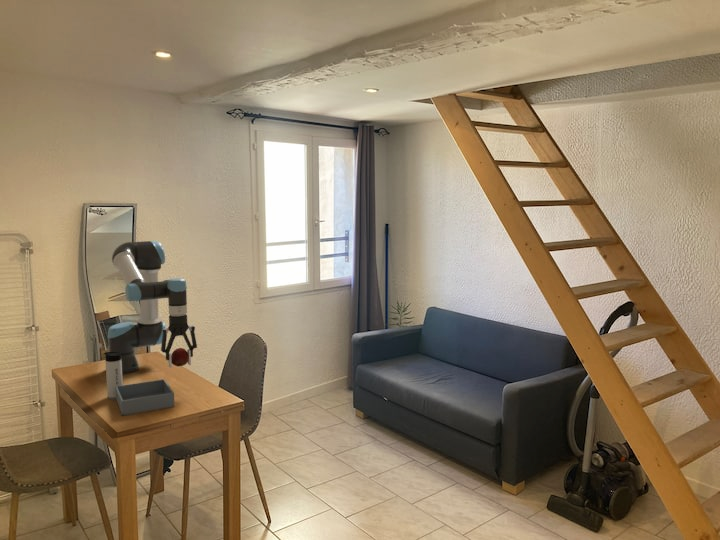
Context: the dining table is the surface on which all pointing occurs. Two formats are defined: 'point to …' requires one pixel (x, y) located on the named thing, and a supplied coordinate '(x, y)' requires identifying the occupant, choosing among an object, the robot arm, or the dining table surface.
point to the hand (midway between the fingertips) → (179, 365)
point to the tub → (144, 397)
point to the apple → (179, 357)
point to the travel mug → (113, 373)
